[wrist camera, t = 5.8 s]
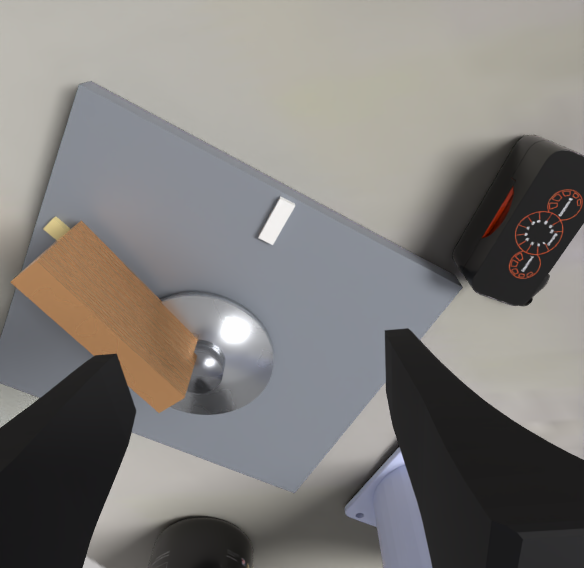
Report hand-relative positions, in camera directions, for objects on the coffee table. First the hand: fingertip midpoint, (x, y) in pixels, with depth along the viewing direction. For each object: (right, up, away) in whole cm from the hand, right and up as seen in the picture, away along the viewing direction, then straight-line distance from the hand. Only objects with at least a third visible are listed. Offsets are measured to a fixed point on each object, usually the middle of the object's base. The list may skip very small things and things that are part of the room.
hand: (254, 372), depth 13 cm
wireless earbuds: (+11, +5, +9) cm, 15 cm away
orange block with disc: (-5, +1, +10) cm, 11 cm away
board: (-3, 0, +11) cm, 12 cm away
